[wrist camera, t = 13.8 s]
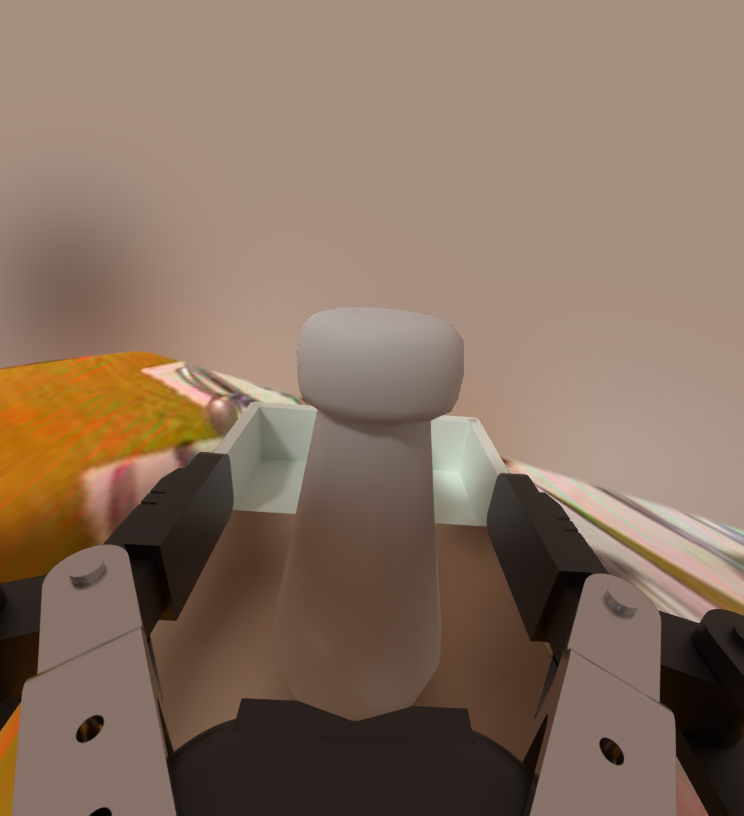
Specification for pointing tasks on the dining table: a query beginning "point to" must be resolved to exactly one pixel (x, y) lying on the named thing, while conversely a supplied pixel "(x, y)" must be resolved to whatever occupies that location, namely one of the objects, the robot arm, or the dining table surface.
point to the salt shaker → (367, 512)
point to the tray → (289, 445)
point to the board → (254, 634)
